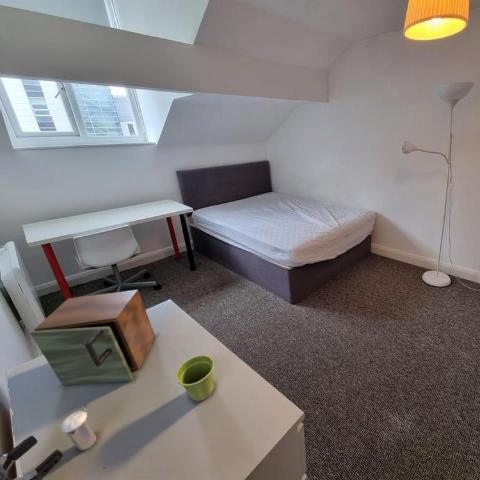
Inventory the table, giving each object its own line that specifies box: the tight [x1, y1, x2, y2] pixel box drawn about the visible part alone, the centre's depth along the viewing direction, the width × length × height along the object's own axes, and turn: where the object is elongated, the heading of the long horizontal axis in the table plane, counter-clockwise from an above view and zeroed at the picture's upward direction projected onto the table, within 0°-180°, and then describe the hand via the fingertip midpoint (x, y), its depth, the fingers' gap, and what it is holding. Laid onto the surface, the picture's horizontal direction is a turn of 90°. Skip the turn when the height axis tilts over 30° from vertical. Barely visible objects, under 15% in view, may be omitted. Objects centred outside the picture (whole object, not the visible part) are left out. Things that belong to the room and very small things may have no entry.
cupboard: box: [33, 289, 156, 371], centre depth 83 cm, size 14×20×20 cm
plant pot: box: [175, 354, 215, 402], centre depth 73 cm, size 9×9×9 cm
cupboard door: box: [29, 327, 134, 386], centre depth 72 cm, size 6×20×20 cm, turn 92°
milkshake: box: [60, 403, 97, 451], centre depth 62 cm, size 4×5×10 cm
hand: (47, 445), depth 56 cm, fingers open, 8 cm apart
